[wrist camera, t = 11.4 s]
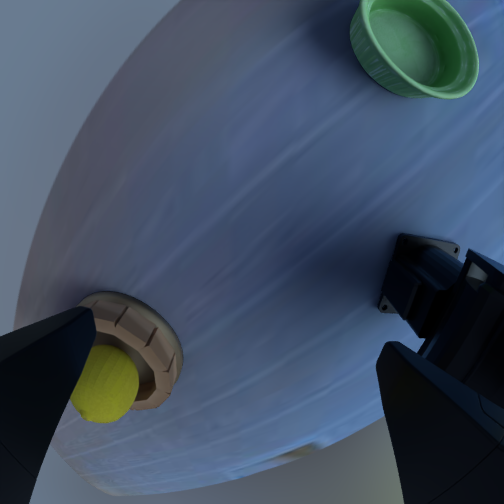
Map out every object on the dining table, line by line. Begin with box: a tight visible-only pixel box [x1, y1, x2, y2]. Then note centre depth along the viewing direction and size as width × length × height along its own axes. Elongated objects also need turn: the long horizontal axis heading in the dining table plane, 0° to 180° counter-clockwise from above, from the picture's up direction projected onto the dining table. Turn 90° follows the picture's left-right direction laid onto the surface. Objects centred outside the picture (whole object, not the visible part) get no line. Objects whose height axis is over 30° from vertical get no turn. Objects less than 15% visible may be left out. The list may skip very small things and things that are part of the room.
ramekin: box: [350, 0, 479, 99], centre depth 12 cm, size 9×9×4 cm
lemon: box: [70, 344, 139, 423], centre depth 18 cm, size 6×6×8 cm
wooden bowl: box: [76, 291, 183, 410], centre depth 21 cm, size 11×11×3 cm
